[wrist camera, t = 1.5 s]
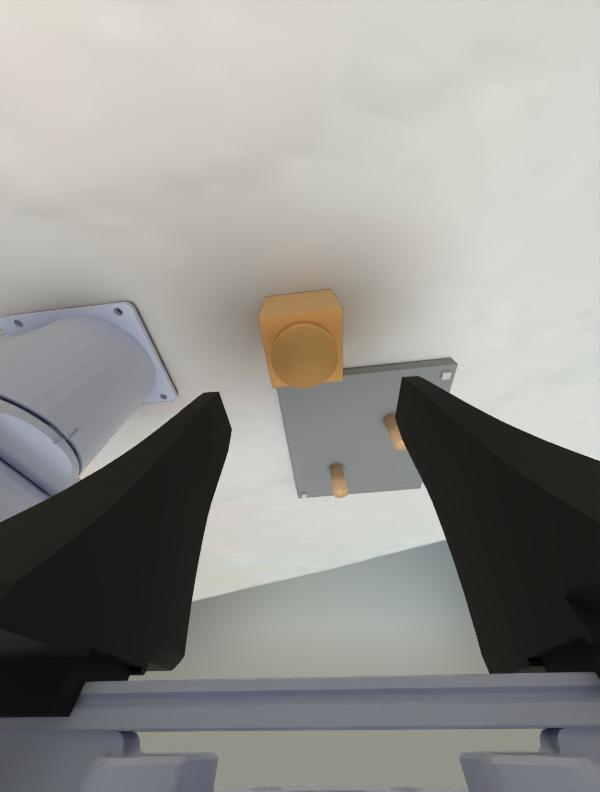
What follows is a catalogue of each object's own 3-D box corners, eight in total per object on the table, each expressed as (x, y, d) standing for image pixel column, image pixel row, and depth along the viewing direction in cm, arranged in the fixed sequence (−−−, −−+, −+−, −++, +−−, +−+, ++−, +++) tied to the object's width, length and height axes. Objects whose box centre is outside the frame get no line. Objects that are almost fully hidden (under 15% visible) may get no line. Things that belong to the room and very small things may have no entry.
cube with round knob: (276, 355, 19) (271, 397, 15) (265, 296, 16) (255, 324, 12) (333, 349, 19) (345, 389, 14) (331, 289, 16) (345, 314, 12)
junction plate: (298, 490, 29) (298, 524, 26) (276, 376, 20) (273, 406, 17) (416, 480, 29) (432, 513, 25) (450, 357, 19) (482, 385, 16)
